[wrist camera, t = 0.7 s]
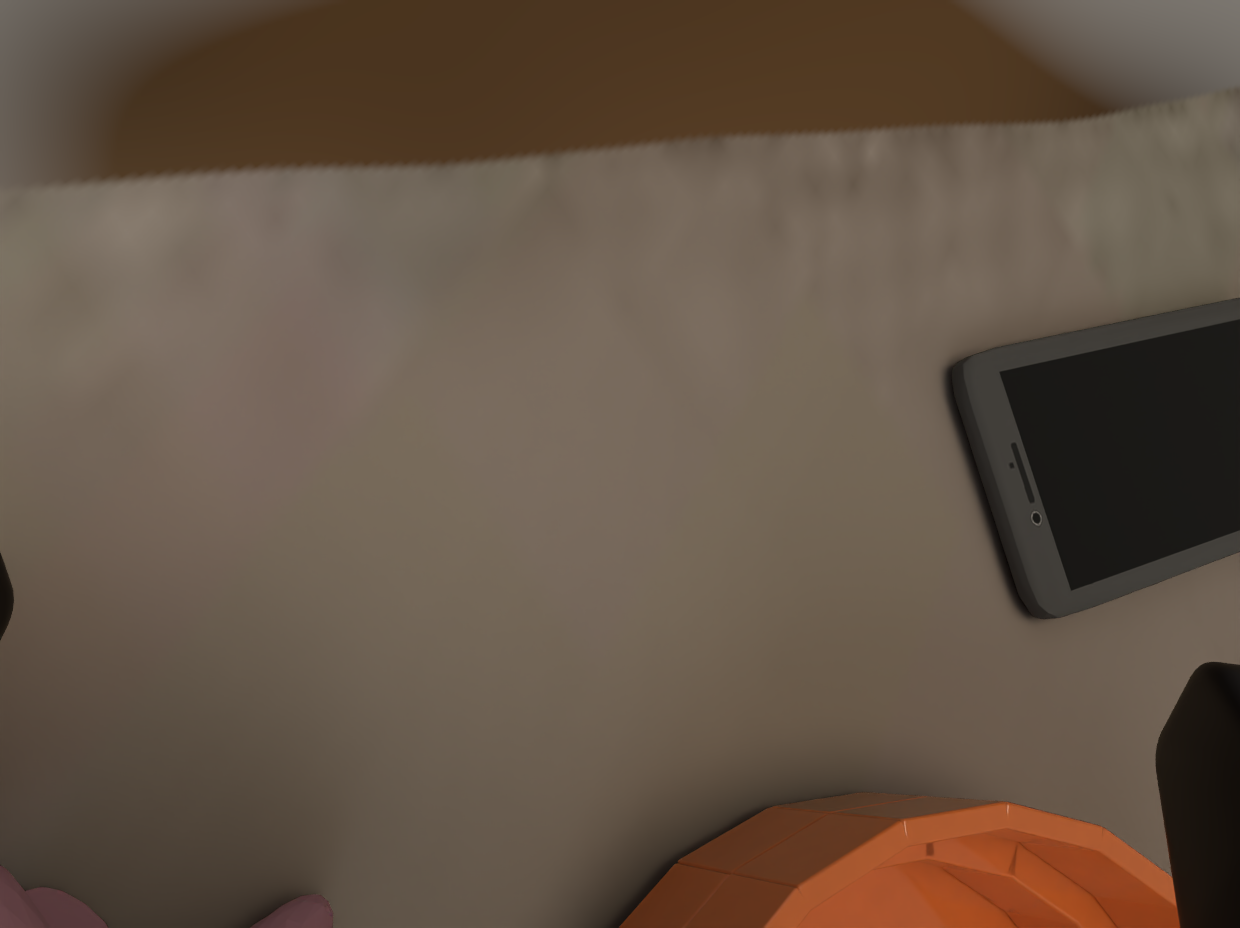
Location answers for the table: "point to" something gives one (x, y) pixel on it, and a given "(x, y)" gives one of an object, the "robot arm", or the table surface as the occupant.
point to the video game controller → (60, 924)
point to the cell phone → (1109, 453)
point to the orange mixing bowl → (911, 870)
